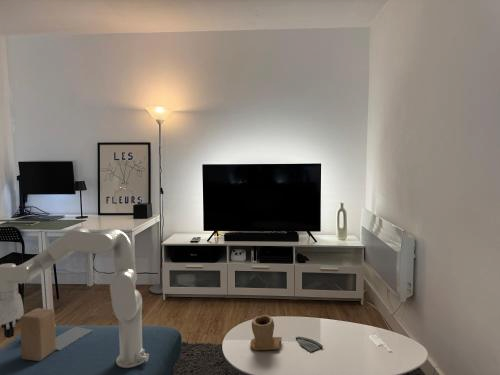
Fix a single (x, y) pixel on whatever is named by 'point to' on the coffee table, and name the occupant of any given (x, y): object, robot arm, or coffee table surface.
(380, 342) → the white plastic blade
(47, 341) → the block
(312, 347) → the curved wedge
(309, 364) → the coffee table surface
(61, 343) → the rubber mat
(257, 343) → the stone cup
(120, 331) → the robot arm
